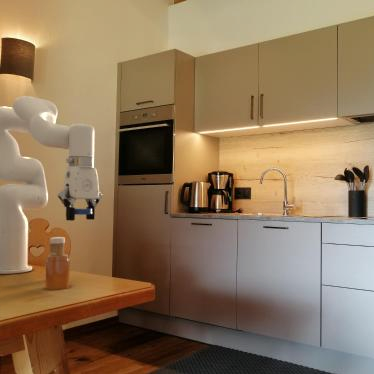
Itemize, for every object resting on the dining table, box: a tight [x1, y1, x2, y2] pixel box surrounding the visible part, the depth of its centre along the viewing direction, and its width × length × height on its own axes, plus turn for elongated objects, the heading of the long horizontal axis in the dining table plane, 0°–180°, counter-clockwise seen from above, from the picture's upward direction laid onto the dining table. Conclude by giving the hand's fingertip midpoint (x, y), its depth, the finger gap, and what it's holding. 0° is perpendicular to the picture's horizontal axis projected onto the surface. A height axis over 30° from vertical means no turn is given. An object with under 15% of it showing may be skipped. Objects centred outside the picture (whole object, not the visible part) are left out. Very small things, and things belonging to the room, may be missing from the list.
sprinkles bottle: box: [49, 236, 66, 255], centre depth 138 cm, size 5×5×13 cm
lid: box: [75, 207, 92, 216], centre depth 133 cm, size 7×7×2 cm
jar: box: [45, 253, 71, 291], centre depth 124 cm, size 6×6×9 cm
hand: (80, 219), depth 133 cm, fingers closed on lid, 6 cm apart
